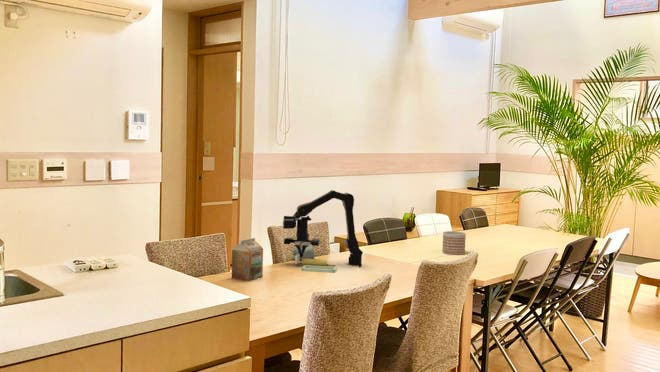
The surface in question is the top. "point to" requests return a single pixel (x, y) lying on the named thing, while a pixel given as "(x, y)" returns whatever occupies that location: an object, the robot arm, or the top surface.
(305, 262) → the yellow cylinder
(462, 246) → the planter
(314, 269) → the tray
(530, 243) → the top surface
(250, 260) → the milk carton
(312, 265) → the holder board
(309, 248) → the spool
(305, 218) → the robot arm
